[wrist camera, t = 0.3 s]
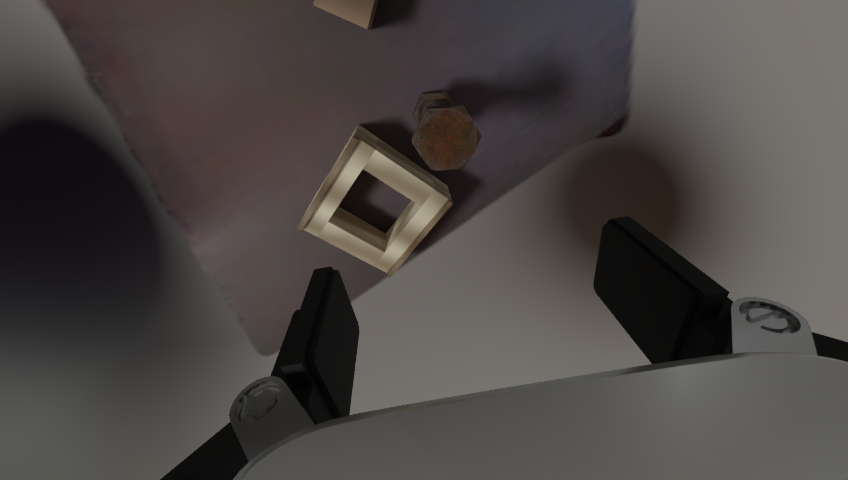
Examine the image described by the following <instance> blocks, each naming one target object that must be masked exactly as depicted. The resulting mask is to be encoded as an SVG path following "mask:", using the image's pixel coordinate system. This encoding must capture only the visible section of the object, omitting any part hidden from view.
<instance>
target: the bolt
mask: <svg viewBox="0 0 848 480" xmlns="http://www.w3.org/2000/svg"><path fill="white" fill-rule="evenodd" d="M413 118H414V119H415V121H416V122H417V124H418V126H417V128H416V130H415V133H414V135H413V137H412V143H413V145H414V147H415V148H416V150H417V151H418V153H419V154H420V156H421V157H422V158H423V160H424V161H425V163H426V164H427V165H428V166H429V168H430V169H431V170H451V169H458V168H462V167H465V165H466V164H467V163H468V162H469V160H470V158H471V157H472V155H473V153H474V152H475V150H476V148H477V146H478V144H479V141H480V139H481V134H480V132H479V130H478V129H477V127H476V125H475V123H474V122H473V120H472V118H471V117H470V115H469V113H468V112H467V110H466V108H465V107H464V105H463V104H462V103H457V104H454V103H453V101H452V100H451V98H450V96H449V95H448V93H447V92H446V90H439V91H429V92H423V93H422V94H421V96H420V98H419V100H418V103H417V105H416V107H415V110H414V112H413Z"/></svg>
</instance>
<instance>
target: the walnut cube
mask: <svg viewBox="0 0 848 480" xmlns="http://www.w3.org/2000/svg"><path fill="white" fill-rule="evenodd" d="M377 4H378V0H314V6H317V7H319V8H321V9H323V10H325V11H328V12H330V13H332V14H334V15H336V16H339V17H341V18H343V19H345V20H348V21H350V22H352V23H354V24H356V25H359V26H361V27H363V28H365V29H370V30H371V27H372V23H373V20H374V16H375V12H376V8H377Z"/></svg>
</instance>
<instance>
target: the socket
mask: <svg viewBox="0 0 848 480" xmlns="http://www.w3.org/2000/svg"><path fill="white" fill-rule="evenodd" d="M362 169H364V170H365V171H367V172H368V173H370V174H371V175H373V176H375V177H376V178H378V179H379V180H381V181H382V182H384V183H386V184H387V185H389V186H390V187H392V188H393V189H395V190H397V191H398V192H400V193H401V194H403V195H404V196H406V197H408V198H409V199H411V202H410V203H409V204H408V206H407V207H406V208H405V209H404V211H403V212H402V213H401V215H400V216H399V217H398V218H397V220H396V221H395V222H394V224H393V225H392V226H391V228H390V229H389V230H388V231H387V233H384V232H383V231H381V230H379V229H377V228H376V227H374V226H372V225H370V224H369V223H367V222H365V221H363V220H362V219H360V218H358V217H356V216H355V215H353V214H351V213H349V212H347V211H346V210H344V209H342V208H340V207H339V204H340V203H341V201H342V199H343V198H344V196H345V195H346V193H347V192H348V190H349V189H350V187H351V186H352V184H353V183H354V181H355V180H356V178H357V177H358V175H359V174H360V172H361V171H362ZM452 204H453V202H452V199H451V196H450V192H449V189H448V186H447V185H446V184H444V183H443V182H442V181H440V180H439V179H437V178H436V177H434V176H433V175H431V174H430V173H428V172H427V171H426V170H424V169H423V168H421V167H420V166H418V165H417V164H415V163H414V162H412V161H411V160H410V159H408V158H407V157H405V156H404V155H402V154H401V153H399V152H398V151H397V150H395V149H394V148H392V147H391V146H389V145H388V144H386V143H385V142H383V141H382V140H381V139H379V138H378V137H376V136H375V135H373V134H372V133H370V132H369V131H368V130H366V129H365V128H363V127H362V126H360V125H358V126H357V128H356V130H355V131H354V133H353V134H352V136H351V138H350V139H349V141H348V143H347V144H346V146H345V148H344V149H343V151H342V152H341V154H340V156H339V157H338V159H337V161H336V162H335V164H334V165H333V167H332V169H331V170H330V172H329V174H328V175H327V177H326V179H325V180H324V182H323V183H322V185H321V187H320V188H319V190H318V192H317V193H316V195H315V196H314V198H313V200H312V201H311V203H310V205H309V206H308V208H307V210H306V212H305V214H304V215H303V217H302V219H301V221H300V223H299V225H298V227H297V229H298V230H300V231H302V229H303V230H305V231H307V232H309V233H311V234H313V235H315V236H317V237H319V238H321V239H323V240H325V241H327V242H329V243H330V244H332V245H334V246H336V247H338V248H340V249H342V250H344V251H346V252H348V253H350V254H352V255H354V256H356V257H357V258H359V259H361V260H363V261H365V262H367V263H369V264H371V265H373V266H375V267H377V268H379V269H381V270H383V271H384V272H386V273H387V276H389V277H391V276H392V275H393V274H394V272H395V271H396V270H397V269H398V268H399V267H400V265H401V264H402V263H403V262H404V261H405V259H406V258H407V257H408V256H409V255H410V254H411V252H412V251H413V250H414V249H415V248H416V246H417V245H418V244H419V243H420V242H421V241H422V239H423V238H424V237H425V236H426V235H427V234H428V232H429V231H430V230H431V229H432V228H433V226H434V225H435V224H436V223H437V222H438V221H439V219H440V218H441V217H442V216H443V215H444V214H445V212H446V211H447V210H448V209H449V208H450V206H451V205H452Z"/></svg>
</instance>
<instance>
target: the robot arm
mask: <svg viewBox="0 0 848 480" xmlns="http://www.w3.org/2000/svg"><path fill="white" fill-rule="evenodd" d="M594 289H595V292H596V293H597V295H598V296H599V297H600V299H601V300H602V301H603V302H604V304H605V305H606V306H607V307H608V309H609V310H610V311H611V312H612V314H613V315H614V316H615V318H616V319H617V320H618V321H619V323H620V324H621V325H622V326H623V328H624V329H625V330H626V332H627V333H628V334H629V335H630V337H631V338H632V339H633V340H634V342H635V343H636V344H637V345H638V347H639V348H640V349H641V350H642V352H643V353H644V354H645V356H646V357H647V358H648V359H649V361H650V362H651V363H652V364H650V365H644V366H637V367H632V368H625V369H618V370H613V371H606V372H600V373H593V374H587V375H581V376H574V377H569V378H562V379H556V380H550V381H544V382H537V383H531V384H525V385H519V386H513V387H507V388H501V389H495V390H489V391H483V392H477V393H471V394H465V395H459V396H454V397H447V398H442V399H435V400H430V401H424V402H418V403H412V404H406V405H401V406H395V407H390V408H385V409H380V410H374V411H368V412H363V413H358V414H354V415H349V413H350V404H351V396H352V388H353V379H354V371H355V362H356V355H357V346H358V338H359V325H358V322H357V319H356V316H355V314H354V311H353V308H352V306H351V303H350V300H349V297H348V295H347V292H346V289H345V286H344V284H343V281H342V278H341V276H340V273H339V271H338V270H333V268H332V267H326V268H320V269H315V270H314V272H313V274H312V277H311V280H310V283H309V286H308V289H307V291H306V294H305V297H304V300H303V303H302V306H301V309H300V310H296V311H295V312H294V314H293V316H292V319H291V322H290V325H289V327H288V330H287V333H286V335H285V338H284V341H283V344H282V346H281V349H280V352H279V354H278V357H277V360H276V363H275V365H274V368H273V371H272V373H271V376H269V377H264V378H261V379H258V380H256V381H254V382H252V383H251V384H249V385H248V386H247V387H245V388H244V389H243V390H242V391H241V392H240V393H239V394H238V396H237V397H236V398H235V400H234V401H233V403H232V405H231V408H230V412H229V418H230V423H228V424H227V425H226V426H225V427H224V428H222V429H221V430H220V431H219V432H218V433H216V434H215V435H214V436H213V437H211V438H210V439H209V440H208V441H207V442H205V443H204V444H203V445H202V446H200V447H199V448H198V449H197V450H196V451H194V452H193V453H192V454H191V455H190V456H188V457H187V458H186V459H185V460H184V461H182V462H181V463H180V464H179V465H177V466H176V467H175V468H174V469H173V470H171V471H170V472H169V473H168V474H166V475H165V476H164V477H163V478H162V479H160V480H848V342H844V341H841V340H837V339H834V338H830V337H827V336H824V335H820V334H817V333H813V332H811V329H810V326H809V324H808V322H807V320H806V319H805V318H804V317H803V316H801V315H800V314H799V313H798V312H796V311H794V310H793V309H791V308H790V307H788V306H785V305H783V304H781V303H778V302H775V301H772V300H768V299H763V298H756V297H744V298H740V299H737V300H736V301H734V302H733V301H732V300H730V299H729V298H728V297H727V296H728V294H729V292H728V291H727V290H726V289H724V288H723V287H722V286H720V285H719V284H718V283H716V282H715V281H714V280H712V279H711V278H710V277H709V276H707V275H706V274H705V273H703V272H702V271H701V270H699V269H698V268H697V267H695V266H694V265H693V264H691V263H690V262H689V261H687V260H686V259H685V258H683V257H682V256H681V255H679V254H678V253H677V252H675V251H674V250H673V249H671V248H670V247H669V246H668V245H666V244H665V243H664V242H662V241H661V240H660V239H658V238H657V237H656V236H654V235H653V234H652V233H650V232H649V231H648V230H646V229H645V228H644V227H642V226H641V225H640V224H639V223H637V222H636V221H635V220H633V219H632V218H630V217H628V216H625V217H619V218H614V219H610V220H608V222H607V224H605V225H604V226H603V228H602V235H601V241H600V247H599V253H598V259H597V266H596V272H595V278H594Z"/></svg>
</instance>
